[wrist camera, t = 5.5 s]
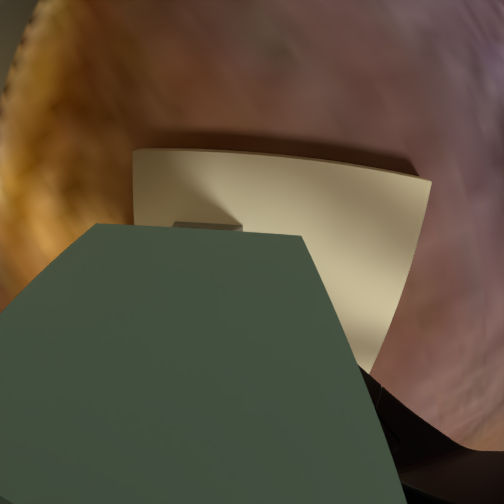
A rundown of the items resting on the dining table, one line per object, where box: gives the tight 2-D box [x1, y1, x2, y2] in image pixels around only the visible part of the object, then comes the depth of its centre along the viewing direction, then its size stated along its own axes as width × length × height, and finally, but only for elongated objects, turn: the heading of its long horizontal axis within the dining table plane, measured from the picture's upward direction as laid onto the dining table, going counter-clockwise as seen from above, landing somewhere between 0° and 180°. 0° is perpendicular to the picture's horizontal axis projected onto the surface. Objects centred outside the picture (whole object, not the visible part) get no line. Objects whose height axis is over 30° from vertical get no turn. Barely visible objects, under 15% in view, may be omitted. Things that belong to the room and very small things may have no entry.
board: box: [132, 148, 432, 374], centre depth 14 cm, size 16×12×1 cm
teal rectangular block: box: [0, 223, 407, 504], centre depth 5 cm, size 5×5×7 cm
